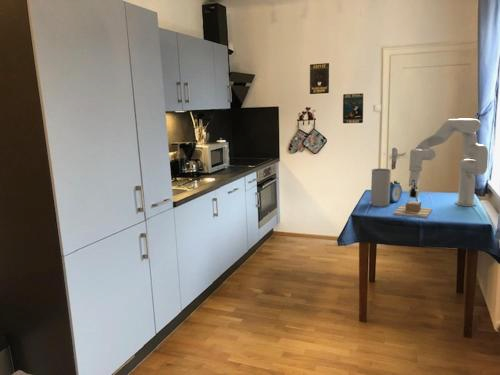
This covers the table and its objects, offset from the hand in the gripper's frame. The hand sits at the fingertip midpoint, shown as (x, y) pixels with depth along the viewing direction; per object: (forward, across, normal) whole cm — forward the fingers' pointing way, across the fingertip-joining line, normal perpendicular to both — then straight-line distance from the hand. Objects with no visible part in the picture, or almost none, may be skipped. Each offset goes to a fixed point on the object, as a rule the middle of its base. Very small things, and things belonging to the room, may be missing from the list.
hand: (413, 195), depth 265 cm
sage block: (+1, 0, 0) cm, 1 cm away
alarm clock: (+11, -23, -18) cm, 31 cm away
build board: (+11, 0, 0) cm, 11 cm away
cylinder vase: (+11, -10, -24) cm, 28 cm away
